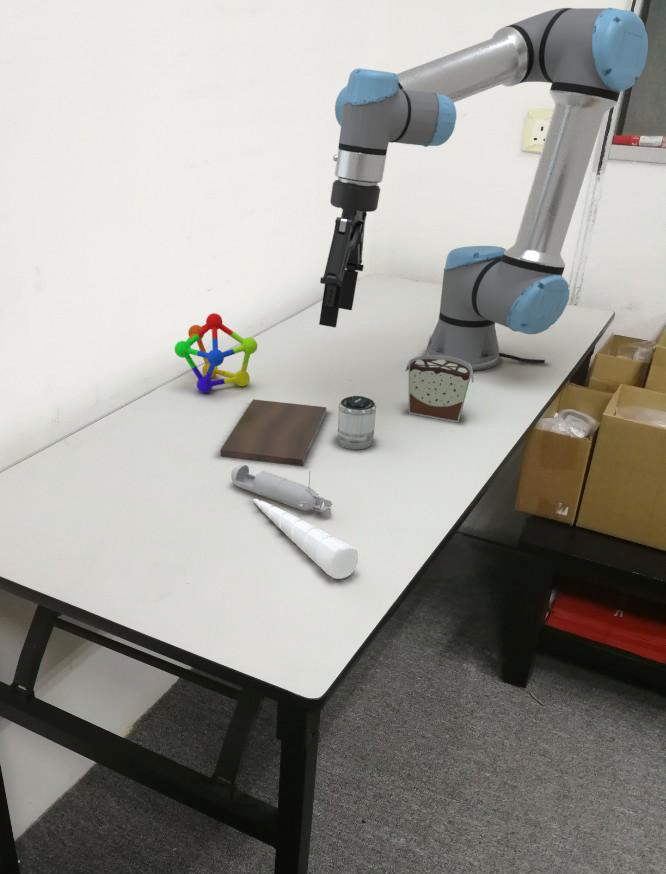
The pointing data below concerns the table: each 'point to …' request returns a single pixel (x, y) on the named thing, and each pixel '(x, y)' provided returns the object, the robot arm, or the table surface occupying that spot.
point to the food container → (438, 386)
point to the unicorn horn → (315, 542)
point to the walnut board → (275, 432)
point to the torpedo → (280, 489)
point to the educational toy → (215, 354)
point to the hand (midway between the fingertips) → (336, 317)
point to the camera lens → (356, 422)
